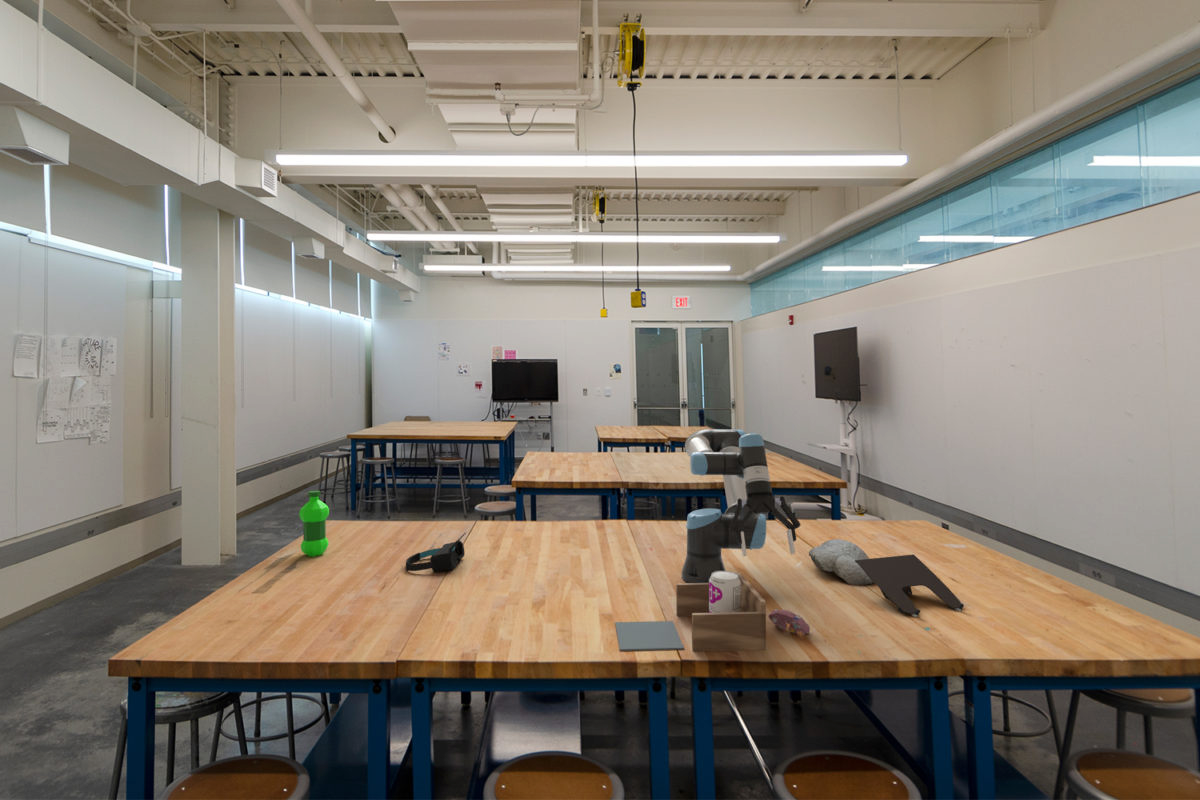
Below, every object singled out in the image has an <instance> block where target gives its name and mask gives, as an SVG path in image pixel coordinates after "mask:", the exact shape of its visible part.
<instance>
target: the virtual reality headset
mask: <svg viewBox="0 0 1200 800" xmlns="http://www.w3.org/2000/svg"><path fill="white" fill-rule="evenodd" d="M466 533H467V532H464V533H463V534H462V535H461V536H460V537H459V538H458V539H457V540H455V541H454V542H453V541H452V542H450V543H449V542H448V543H444V544H443V545H442V547H438V548H433V549H428V550H425V551H421V552H417V553H415V554H412V555H411V556H409V557H408V558H407V559H406V561H405V570H406V572H407V571H409V572H418V571H424V570H430V569H431V570H432V572H434V573H440V572H448V571H453V570H454V568H455V567H456V566H457V565H458V564H459V563H460V561H461V560H462V559H463V558H464V557H465V546H464V543H463V542H462V541H461V539H462V538H463V537H464V536H465V535H466ZM430 556H431V557H430ZM427 557H430V560H429V561H426V562H421V563H419V561H420V560H421V559H423V558H427ZM416 562H418V563H416Z"/></svg>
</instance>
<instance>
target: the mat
mask: <svg viewBox="0 0 1200 800" xmlns="http://www.w3.org/2000/svg"><path fill="white" fill-rule="evenodd" d="M614 625H615V631H616V637H617V641H618V647H619V652H622V651H627V652H628V651H665V650H667V651H668V650H685V647H684V644H683V643H682V640H681V637H680V635H679V633H678V630H677V628H676V625H675V623H674V621H673V620H657V621H656V620H654V621H653V620H652V621H650V620H649V621H615V623H614Z"/></svg>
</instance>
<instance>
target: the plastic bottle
mask: <svg viewBox="0 0 1200 800" xmlns="http://www.w3.org/2000/svg"><path fill="white" fill-rule="evenodd" d="M307 494H308V495H307V497H309V501H307V502H306V503H305V504H304V505H302V507H301V508H300V510H299V512H298V514H299V519H300V521H302V522H303V523H302V525H303V527H302V529H303V540H302V542H301V544H300V549H301V552H302V553H303V554H305V555H306V556H307V555H308V557H317V556H316V555H319V556H321V554H322V555H323V554H324V552H325V551H326V550H327V549H328V546H329V539H328V538H327V536H326V535H327V533H326V531H327V530H326V528H327V525H326V524H327V523H326V521H327V518H328V517H329V516H330V515H329V514H330V508H329V506H328V505H327V504H326V503H324V502H323V501H322V500H320V496H321V491H320V490H310V491H308V492H307Z"/></svg>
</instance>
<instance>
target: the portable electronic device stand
mask: <svg viewBox="0 0 1200 800" xmlns="http://www.w3.org/2000/svg"><path fill="white" fill-rule="evenodd" d="M855 562H856V563H858V565H859V566H860V567H861V568H862V569H863V570H864V572H865V573H866V574H867V575H868V576H869V577H870V578H871V580H872V581H873V584H875V585H876V587H878V588H879V590H880V591H881V593H882V595H883V597H884V598H885V599H890V601H891V602H892V603H894V604H895V606H896V607H897V611H899V612H901V614H903V613H906V614H909V615H911V616H912V617H914V618H917V617H919V615H920V613H921V610H920V609H919V608H917V607H916V606H915V604H914V603H913V602H912V600H911V599H910V598H909V596H911V595H913V590H912V587H918V586H920V587H921V586H923V587H926V588H928V589H929V590H930V591H931V592H932V593H933V594H934V595H935V596H936V597H938V598H939V599H940V600H942V601H943V603H945V604H946V605H947V606H948V607H950V608H952V609H954V610H955V611H957V612H961V611H962V610H963V608H964V606H965V605H964V603H962V602H961V600H960V599H959V598H958V597H957V595H955V594H954V593H953V592H952V591H951V589H949V587H948V586H947V585H946V584H945V583H944V582H943V581H942V580H941V579H940V578H939V577H938V576H937V574H935V572H933V571H932V570H931V569H930V568H929V567H928V566H927V565H926V564H925V563H924V562H922V560H920V559H919V558H918V557H917V556H916V555H915V554H914V553H913V554H905V555H903V554H902V555H895V556H882V557H874V558H869V559H862V560H855Z"/></svg>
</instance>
